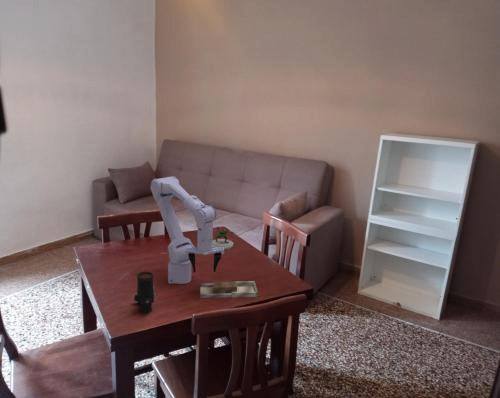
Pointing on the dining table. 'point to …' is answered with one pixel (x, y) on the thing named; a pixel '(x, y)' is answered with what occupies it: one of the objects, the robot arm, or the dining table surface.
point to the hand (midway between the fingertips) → (204, 271)
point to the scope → (145, 291)
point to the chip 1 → (218, 287)
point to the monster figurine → (222, 240)
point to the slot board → (242, 291)
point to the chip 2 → (230, 287)
